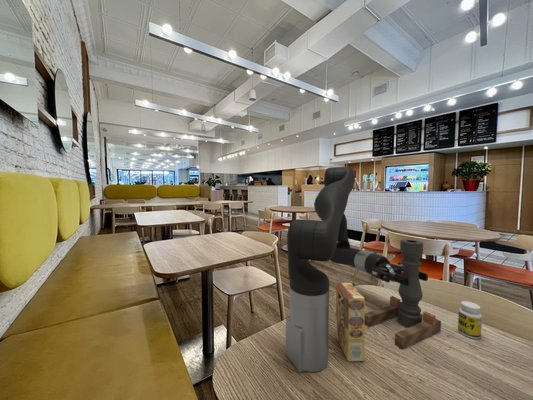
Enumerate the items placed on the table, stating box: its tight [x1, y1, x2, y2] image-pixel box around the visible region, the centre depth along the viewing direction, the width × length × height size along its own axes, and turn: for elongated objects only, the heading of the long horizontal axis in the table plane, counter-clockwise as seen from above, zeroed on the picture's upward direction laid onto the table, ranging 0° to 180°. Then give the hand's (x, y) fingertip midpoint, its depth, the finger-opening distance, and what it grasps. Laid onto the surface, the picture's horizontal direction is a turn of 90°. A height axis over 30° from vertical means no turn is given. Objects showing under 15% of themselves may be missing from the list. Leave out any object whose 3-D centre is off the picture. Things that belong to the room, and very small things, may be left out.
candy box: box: [335, 282, 366, 362], centre depth 55 cm, size 9×4×15 cm, turn 1°
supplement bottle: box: [457, 300, 483, 340], centre depth 61 cm, size 5×5×8 cm
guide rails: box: [365, 295, 442, 350], centre depth 64 cm, size 17×13×6 cm
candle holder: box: [397, 238, 424, 329], centre depth 66 cm, size 6×6×25 cm
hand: (418, 280), depth 64 cm, fingers open, 8 cm apart
